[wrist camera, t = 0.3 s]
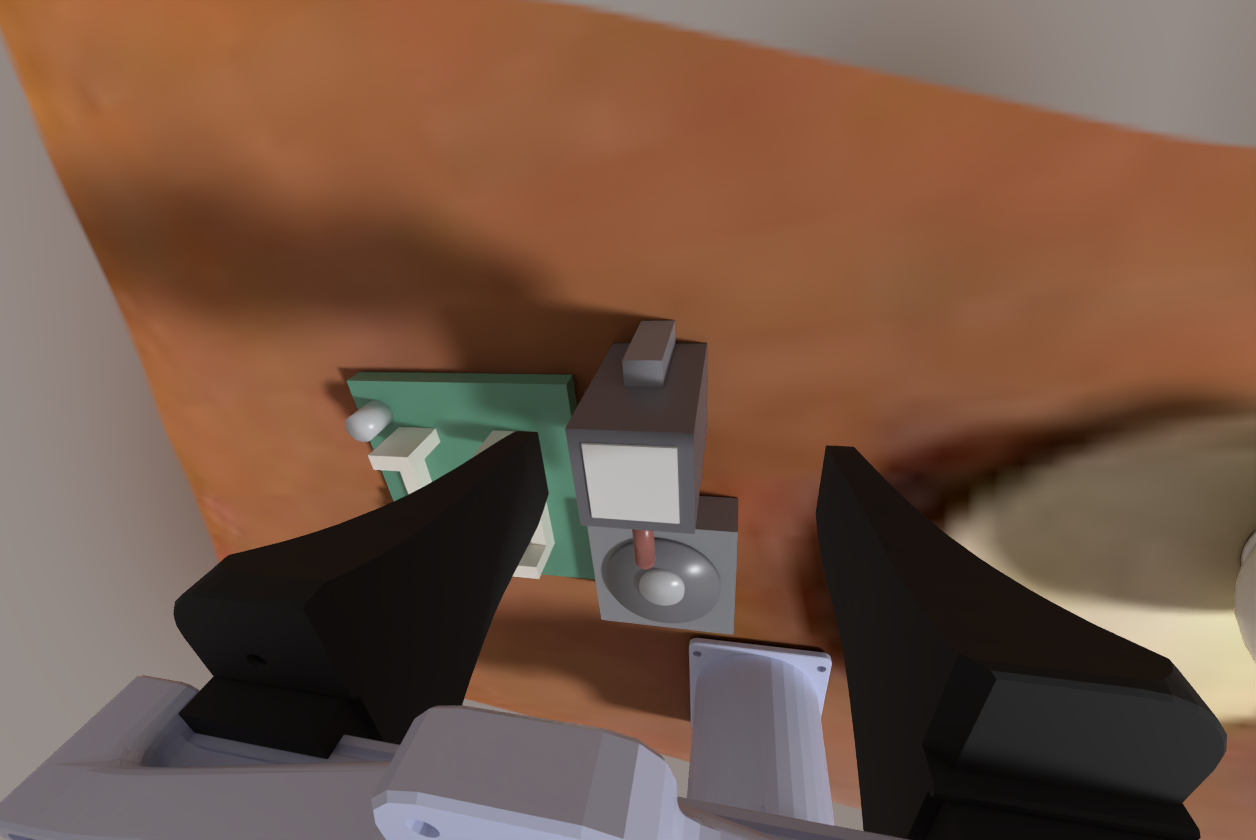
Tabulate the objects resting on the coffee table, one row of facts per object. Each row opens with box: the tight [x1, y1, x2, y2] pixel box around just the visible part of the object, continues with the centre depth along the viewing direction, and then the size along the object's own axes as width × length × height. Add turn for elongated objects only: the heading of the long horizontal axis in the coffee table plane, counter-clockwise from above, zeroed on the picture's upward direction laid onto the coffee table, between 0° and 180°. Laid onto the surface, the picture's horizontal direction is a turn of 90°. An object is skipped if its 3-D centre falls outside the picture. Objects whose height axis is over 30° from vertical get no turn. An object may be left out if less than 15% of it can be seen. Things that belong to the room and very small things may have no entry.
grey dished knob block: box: [587, 496, 738, 635], centre depth 25 cm, size 10×7×3 cm
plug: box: [565, 320, 707, 570], centre depth 20 cm, size 8×4×7 cm, turn 4°
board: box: [345, 372, 595, 579], centre depth 26 cm, size 12×11×4 cm
